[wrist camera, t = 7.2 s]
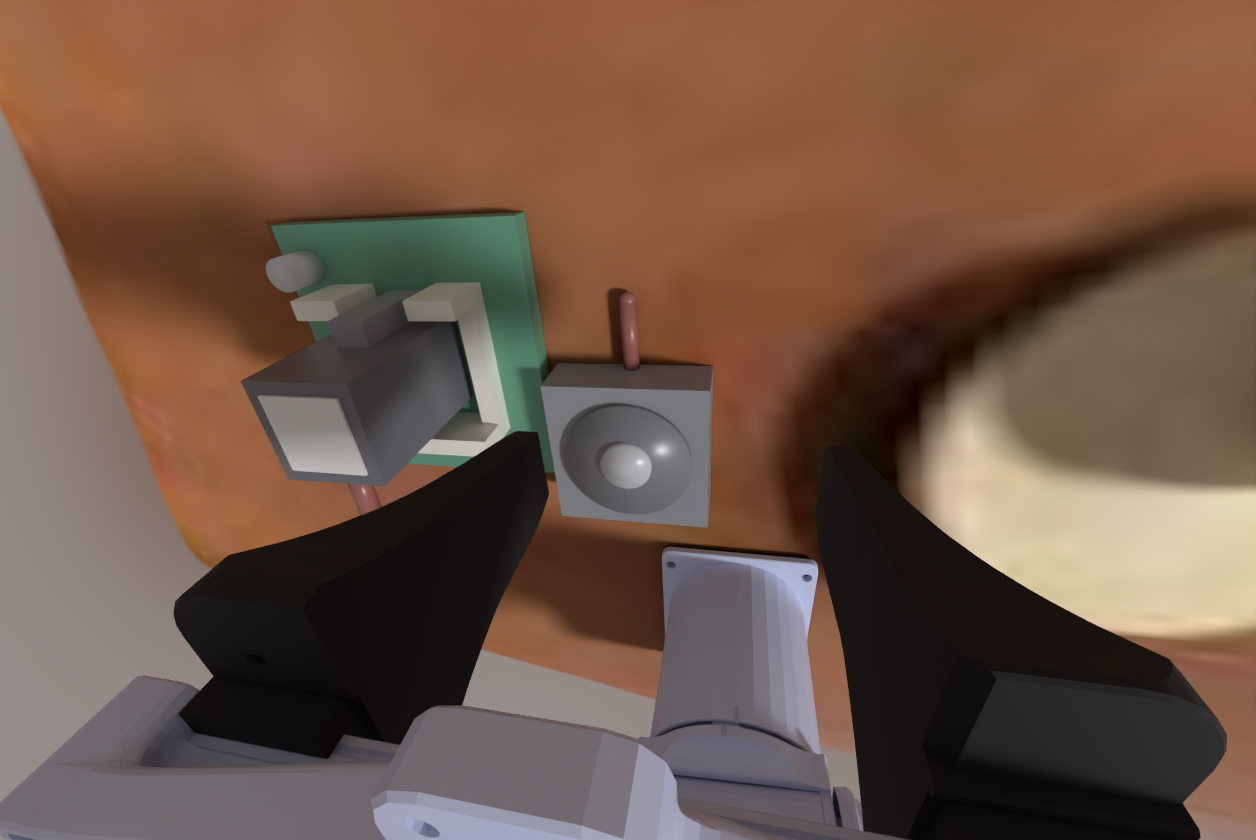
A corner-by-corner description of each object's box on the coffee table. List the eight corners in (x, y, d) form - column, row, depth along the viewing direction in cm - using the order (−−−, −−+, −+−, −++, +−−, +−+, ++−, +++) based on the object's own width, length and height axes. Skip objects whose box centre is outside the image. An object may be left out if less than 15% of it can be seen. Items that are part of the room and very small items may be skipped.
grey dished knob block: (710, 494, 25) (706, 536, 23) (575, 485, 27) (558, 523, 24) (714, 288, 20) (710, 312, 18) (547, 290, 22) (521, 313, 19)
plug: (485, 445, 25) (405, 547, 19) (413, 441, 26) (314, 538, 20) (448, 289, 21) (333, 356, 15) (364, 290, 22) (223, 353, 16)
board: (562, 461, 26) (540, 505, 23) (374, 450, 28) (331, 489, 25) (524, 211, 20) (486, 227, 17) (288, 222, 22) (219, 237, 19)
